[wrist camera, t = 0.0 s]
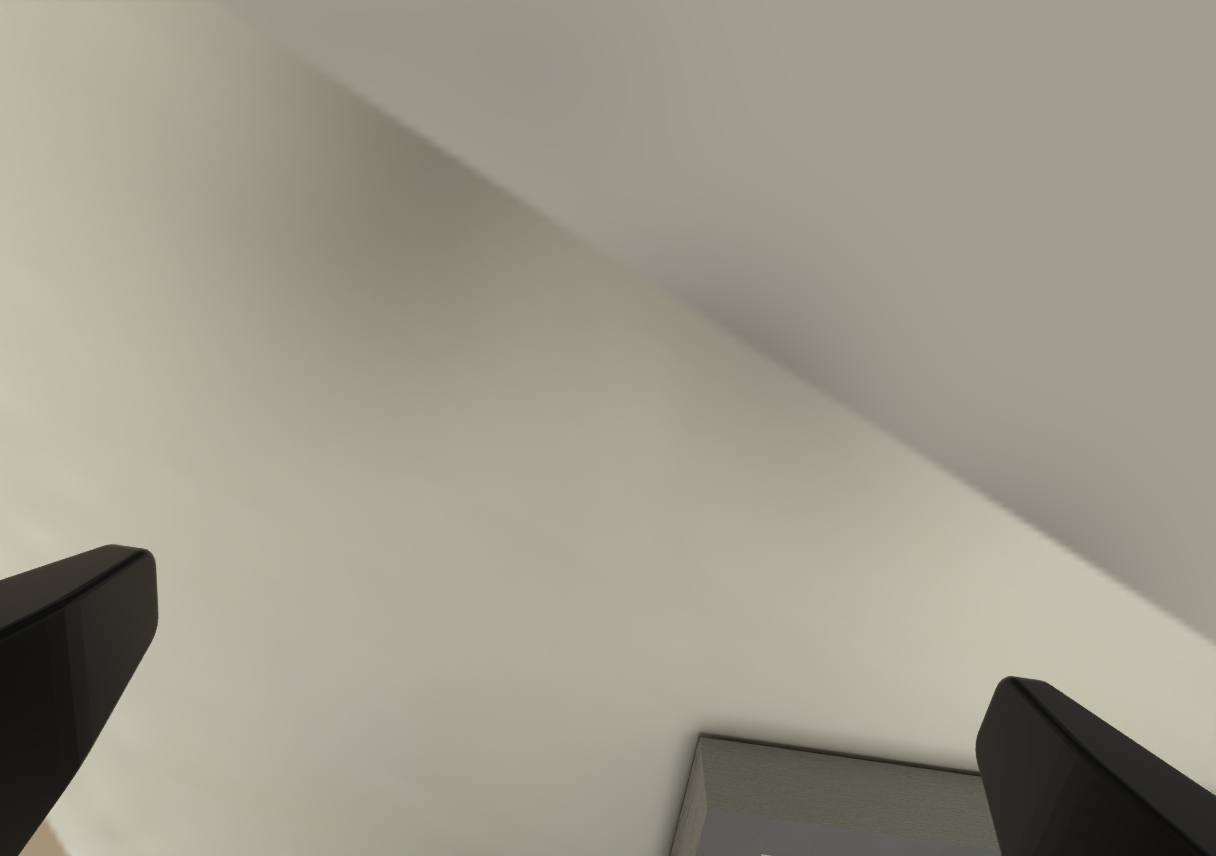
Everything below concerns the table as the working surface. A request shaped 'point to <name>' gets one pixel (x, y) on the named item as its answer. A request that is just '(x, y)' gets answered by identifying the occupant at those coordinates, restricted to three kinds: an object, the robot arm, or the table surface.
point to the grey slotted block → (826, 806)
